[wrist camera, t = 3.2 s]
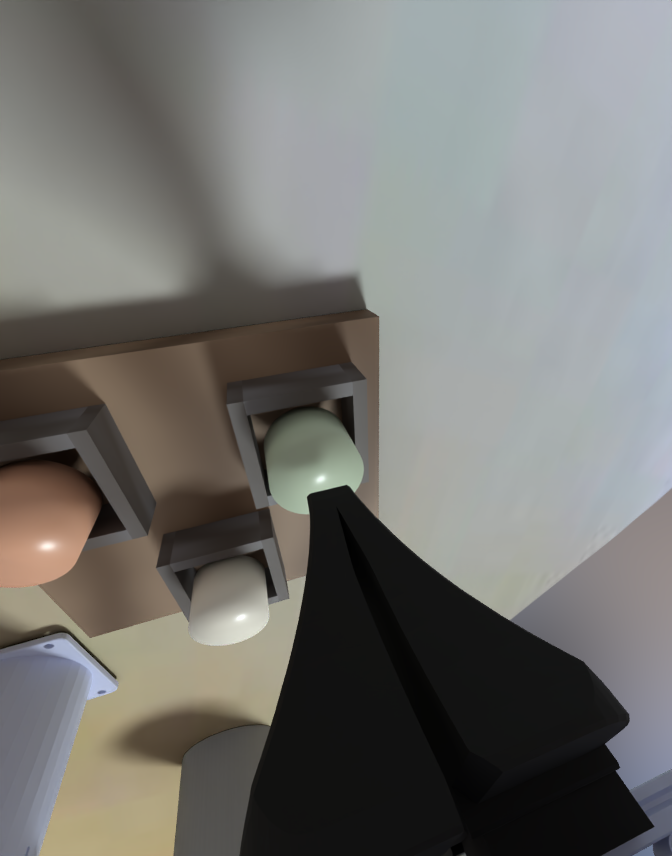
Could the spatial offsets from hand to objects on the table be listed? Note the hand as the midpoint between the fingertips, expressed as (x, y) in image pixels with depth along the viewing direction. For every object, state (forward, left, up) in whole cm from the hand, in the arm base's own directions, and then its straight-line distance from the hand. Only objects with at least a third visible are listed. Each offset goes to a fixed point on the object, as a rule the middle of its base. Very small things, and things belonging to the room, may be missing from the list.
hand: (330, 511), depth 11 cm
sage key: (0, 0, -4) cm, 4 cm away
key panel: (-5, -4, -7) cm, 10 cm away
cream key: (-5, -8, -4) cm, 10 cm away
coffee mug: (-12, -42, -8) cm, 44 cm away
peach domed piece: (-10, 0, -4) cm, 11 cm away
